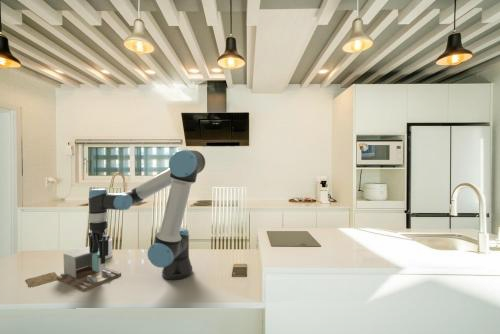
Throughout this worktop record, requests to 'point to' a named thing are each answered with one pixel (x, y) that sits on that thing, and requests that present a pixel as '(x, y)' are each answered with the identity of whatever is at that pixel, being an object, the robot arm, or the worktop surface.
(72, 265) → the housing
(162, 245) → the robot arm
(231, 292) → the worktop surface
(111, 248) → the cup
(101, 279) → the board
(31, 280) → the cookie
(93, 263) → the teal block
